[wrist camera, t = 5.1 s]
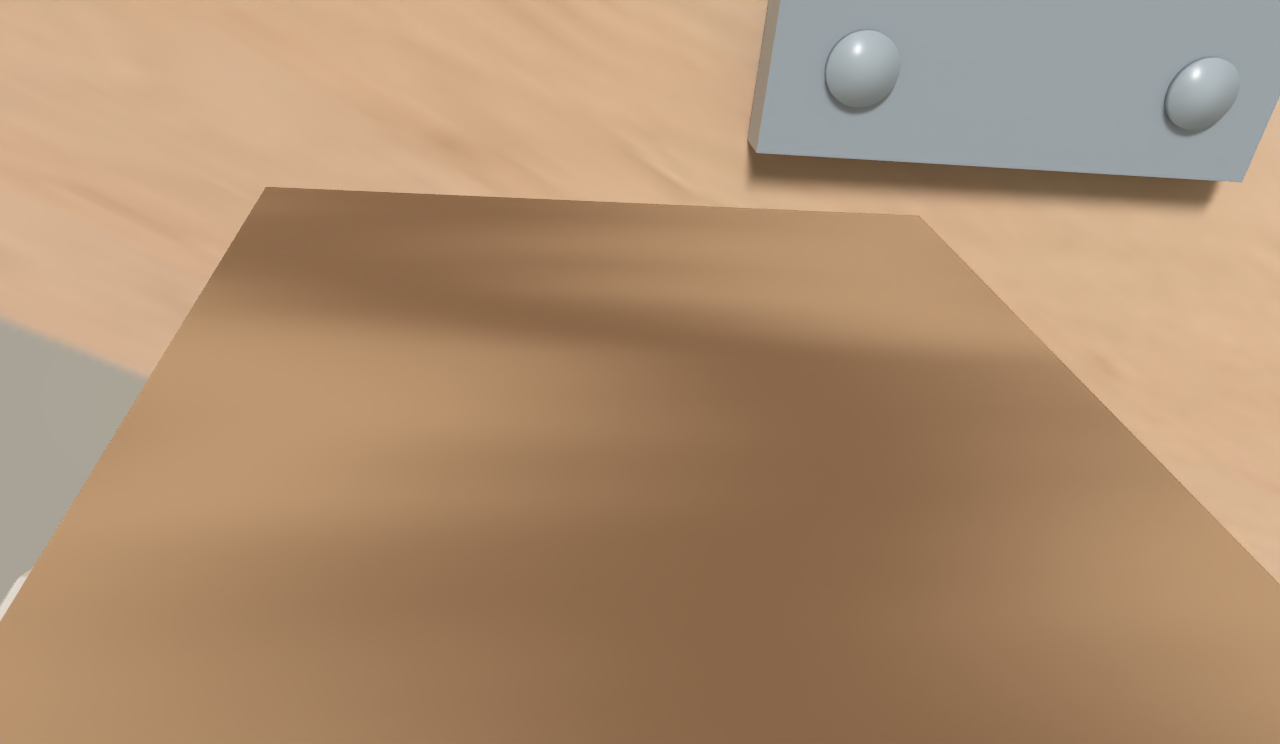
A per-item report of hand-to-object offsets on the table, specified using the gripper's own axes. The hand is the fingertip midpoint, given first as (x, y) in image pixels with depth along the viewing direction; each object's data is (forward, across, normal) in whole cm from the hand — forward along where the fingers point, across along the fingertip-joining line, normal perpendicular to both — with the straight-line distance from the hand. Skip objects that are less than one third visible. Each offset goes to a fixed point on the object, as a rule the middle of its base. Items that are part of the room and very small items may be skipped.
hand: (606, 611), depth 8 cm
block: (+2, 0, 0) cm, 2 cm away
